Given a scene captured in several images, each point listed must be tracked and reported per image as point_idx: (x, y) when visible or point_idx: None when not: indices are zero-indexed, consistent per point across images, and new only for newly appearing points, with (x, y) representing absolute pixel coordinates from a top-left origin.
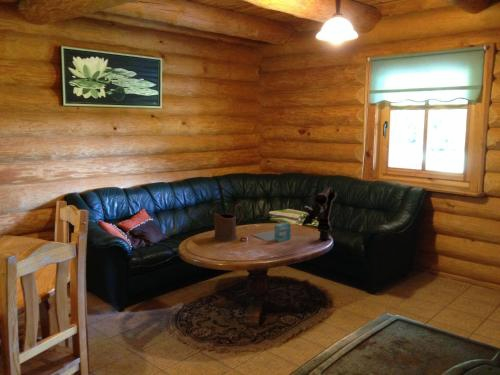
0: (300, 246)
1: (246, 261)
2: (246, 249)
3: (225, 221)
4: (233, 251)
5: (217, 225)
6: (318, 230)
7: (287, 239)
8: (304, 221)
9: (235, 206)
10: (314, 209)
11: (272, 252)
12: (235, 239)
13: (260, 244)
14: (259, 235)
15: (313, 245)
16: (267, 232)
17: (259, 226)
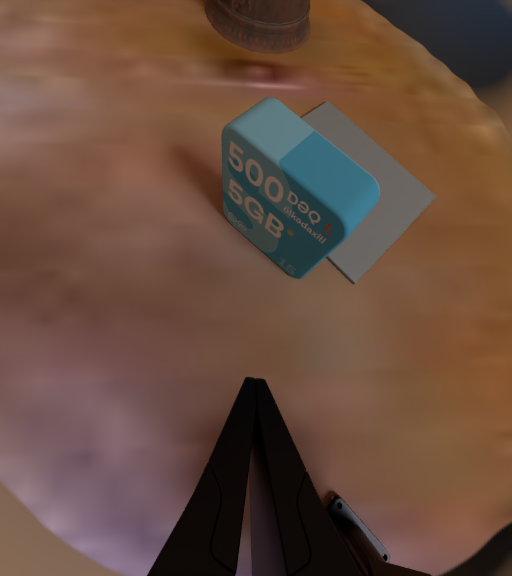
0: (139, 354)
1: None
2: (88, 72)
3: None
4: (59, 26)
5: None
6: (370, 573)
7: (278, 264)
8: (203, 473)
9: None
10: None
11: (14, 182)
12: (239, 40)
13: (178, 131)
14: (325, 129)
15: (166, 460)
16: (385, 164)
17: (473, 138)
